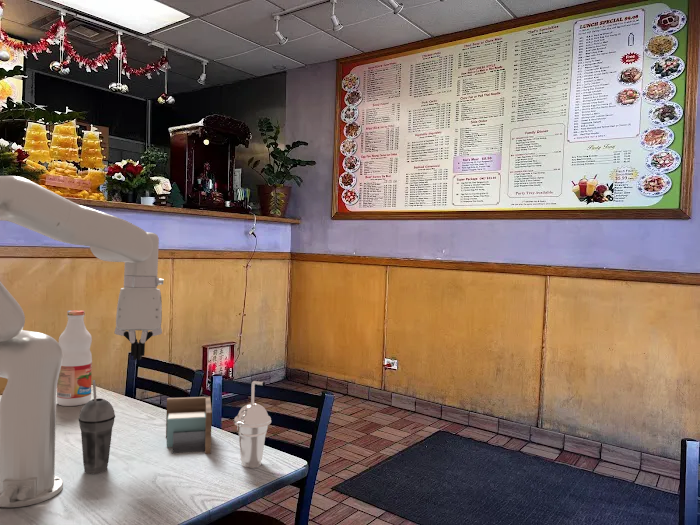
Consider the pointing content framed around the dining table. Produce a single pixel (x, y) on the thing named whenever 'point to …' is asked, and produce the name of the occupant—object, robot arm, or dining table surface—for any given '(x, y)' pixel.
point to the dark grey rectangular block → (188, 441)
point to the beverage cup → (96, 433)
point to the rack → (193, 406)
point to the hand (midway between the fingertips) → (137, 358)
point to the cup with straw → (252, 431)
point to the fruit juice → (75, 362)
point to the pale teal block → (184, 423)
